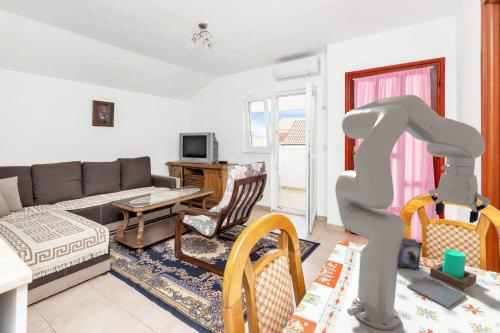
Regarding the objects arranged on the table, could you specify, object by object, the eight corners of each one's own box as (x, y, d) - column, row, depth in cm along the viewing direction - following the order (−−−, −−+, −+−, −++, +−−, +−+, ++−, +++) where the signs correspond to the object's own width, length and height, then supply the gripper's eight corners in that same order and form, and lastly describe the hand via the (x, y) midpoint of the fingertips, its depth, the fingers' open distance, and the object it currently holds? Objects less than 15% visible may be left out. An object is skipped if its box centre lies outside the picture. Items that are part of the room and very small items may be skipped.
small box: (390, 267, 96) (392, 242, 95) (384, 259, 103) (386, 236, 101) (419, 271, 94) (422, 245, 93) (412, 262, 100) (414, 238, 99)
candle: (467, 285, 85) (470, 253, 84) (447, 283, 86) (451, 251, 85) (456, 275, 91) (459, 245, 89) (438, 273, 92) (441, 244, 91)
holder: (462, 290, 82) (463, 282, 81) (429, 275, 91) (430, 268, 90) (475, 282, 86) (476, 275, 86) (443, 269, 95) (443, 262, 95)
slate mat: (447, 308, 73) (448, 306, 73) (406, 287, 84) (407, 285, 83) (465, 296, 79) (466, 295, 79) (425, 278, 89) (425, 276, 89)
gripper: (425, 168, 89) (422, 213, 91) (488, 174, 73) (482, 228, 76) (436, 166, 92) (433, 209, 94) (498, 172, 77) (492, 223, 79)
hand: (455, 217), depth 85 cm, fingers open, 9 cm apart
